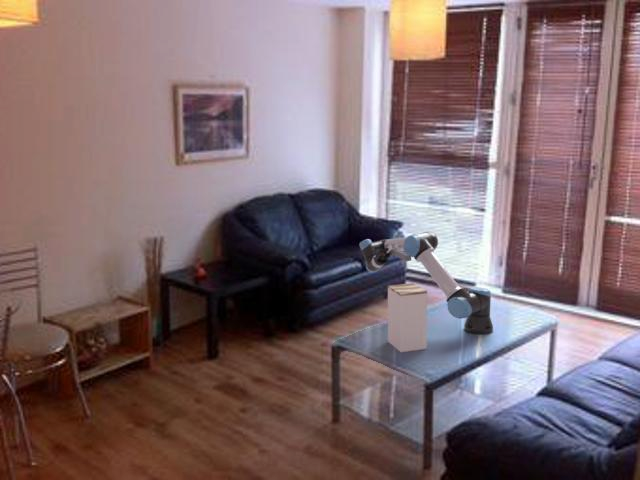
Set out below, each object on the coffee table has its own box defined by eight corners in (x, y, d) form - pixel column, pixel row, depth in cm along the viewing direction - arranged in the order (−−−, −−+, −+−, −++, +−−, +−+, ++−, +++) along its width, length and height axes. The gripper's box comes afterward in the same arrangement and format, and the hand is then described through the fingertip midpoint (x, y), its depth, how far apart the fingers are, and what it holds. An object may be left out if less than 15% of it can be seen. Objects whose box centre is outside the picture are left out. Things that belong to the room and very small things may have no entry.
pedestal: (387, 341, 331) (387, 285, 325) (412, 338, 335) (412, 283, 329) (400, 352, 316) (400, 293, 310) (426, 348, 320) (427, 290, 314)
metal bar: (386, 251, 357) (386, 246, 356) (391, 251, 358) (390, 245, 357) (405, 261, 333) (405, 255, 332) (411, 260, 333) (411, 255, 333)
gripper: (394, 264, 372) (409, 251, 350) (368, 267, 367) (382, 254, 346) (391, 252, 374) (406, 238, 353) (365, 254, 369) (379, 241, 348)
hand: (394, 246), depth 349 cm, fingers closed on metal bar, 3 cm apart
